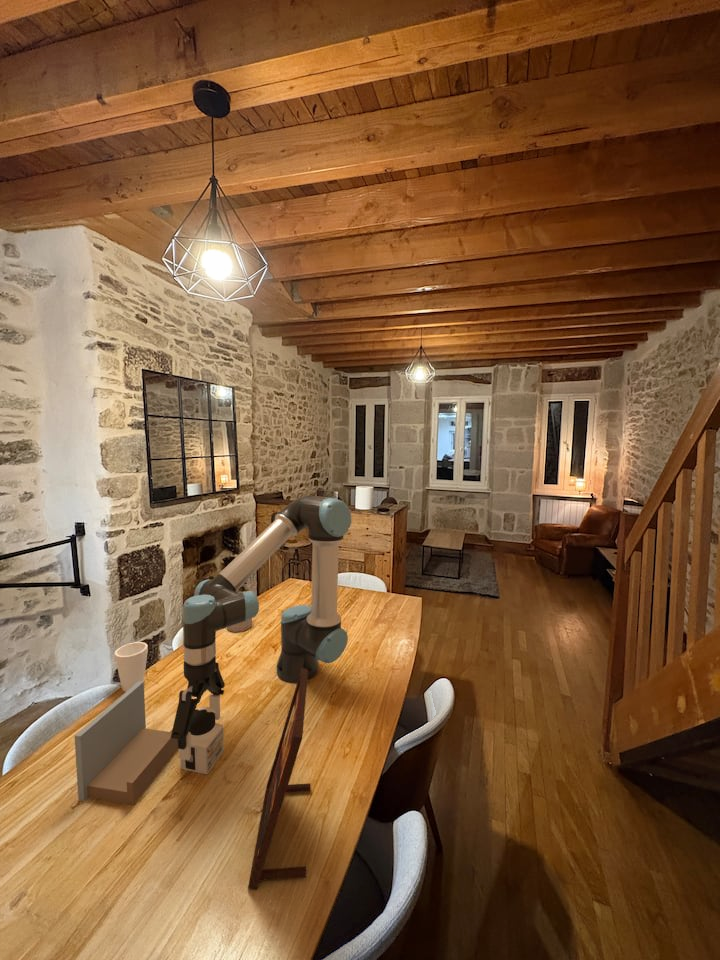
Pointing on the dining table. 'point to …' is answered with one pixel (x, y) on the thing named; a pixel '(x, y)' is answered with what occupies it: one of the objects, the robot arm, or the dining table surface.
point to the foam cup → (131, 663)
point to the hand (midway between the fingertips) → (200, 737)
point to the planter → (240, 626)
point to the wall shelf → (121, 751)
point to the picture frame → (281, 788)
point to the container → (204, 741)
